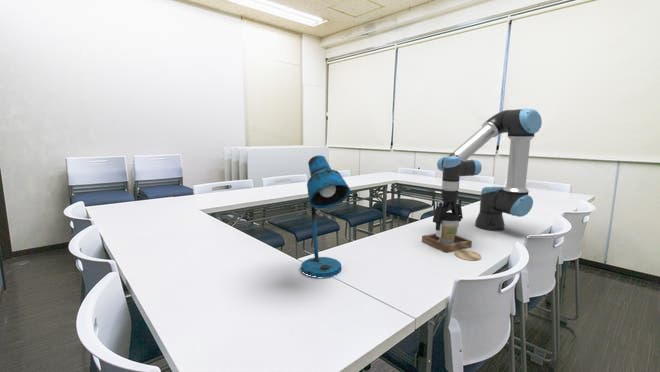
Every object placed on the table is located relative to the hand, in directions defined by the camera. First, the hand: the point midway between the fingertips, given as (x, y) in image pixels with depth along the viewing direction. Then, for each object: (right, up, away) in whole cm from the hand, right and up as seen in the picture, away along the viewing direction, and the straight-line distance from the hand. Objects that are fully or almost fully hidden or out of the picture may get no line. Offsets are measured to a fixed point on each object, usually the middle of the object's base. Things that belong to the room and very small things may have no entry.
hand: (446, 235), depth 154 cm
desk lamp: (-59, -10, -29) cm, 66 cm away
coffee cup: (0, -5, +1) cm, 5 cm away
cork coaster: (+5, -7, -13) cm, 15 cm away
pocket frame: (0, -5, +1) cm, 5 cm away
